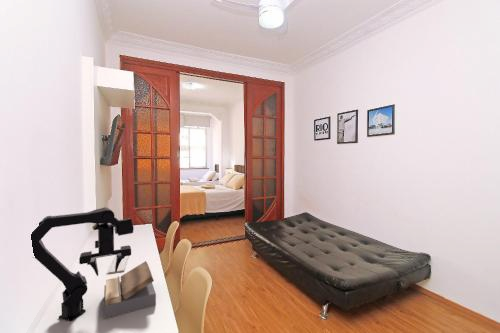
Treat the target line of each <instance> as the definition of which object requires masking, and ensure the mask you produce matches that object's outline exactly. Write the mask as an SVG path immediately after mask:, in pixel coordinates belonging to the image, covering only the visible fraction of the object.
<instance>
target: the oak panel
mask: <svg viewBox="0 0 500 333" xmlns="http://www.w3.org/2000/svg"><path fill="white" fill-rule="evenodd" d="M120 282H121V277H120V276H117V277H113V278H108V279H105V285H106V295H105V304H106V306H107V305H110V304H114V303H118V302H121V289H120Z"/></svg>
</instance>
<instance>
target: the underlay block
mask: <svg viewBox="0 0 500 333" xmlns="http://www.w3.org/2000/svg"><path fill="white" fill-rule="evenodd" d="M120 289H121V302H118V303H114V304H110V305H107V306H106V304H105V295H106V284H104V289H103V290H104V292H103V293H104V296H103V297H104V298H103V318H104V319H103V320H108V319H110V318H113V317H117V316H120V315H125V314H128V313H131V312H135V311H139V310H143V309H146V308H150V307H154V306H156V305H157V294H156V291H155V287H154V284H153V282H152V283H150V284H149V285H147V286H146V287H144V288H143V289H141V290H140V291H138V292H136V293H135V294H133V295H132V296H130V297H129V298H127V299H126V300H125V298H124V297H123V295H122V285H121V281H120Z"/></svg>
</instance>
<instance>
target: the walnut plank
mask: <svg viewBox="0 0 500 333" xmlns="http://www.w3.org/2000/svg"><path fill="white" fill-rule="evenodd" d="M154 281H155V279H154V277H153V275H152V271H151V269H150V266H149V264H148V262H147V261H146V260H145V261H143V262H142V263H140V264H138V265H137V266H135V267H134V268H132V269H131V270H128V271H127V272H126V273H124V274H122V275H121V276H120V282H121V285H122V295H123V297H124V298H125V300H126V299H127V298H129V297H130V296H132V295H133V294H135V293H136V292H138V291H140V290H141V289H143V288H144V287H146V286H147V285H149V284H150V283H152V284H153V282H154Z"/></svg>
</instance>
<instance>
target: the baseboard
mask: <svg viewBox="0 0 500 333" xmlns="http://www.w3.org/2000/svg"><path fill="white" fill-rule="evenodd" d="M116 256H117V255H113V258H112V260H111V262H110V265H109V267H108V269H107V271H106V275H110V274H111V275H112V274H116V273H117V274H118V273H123V272H125V270H126V268H127V267H126V266H127V263H128V260H129V258H130V256H125V258H123V259H122V260H121V262H120V264H119V266H118V269H117V272H115V265H116Z"/></svg>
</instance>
